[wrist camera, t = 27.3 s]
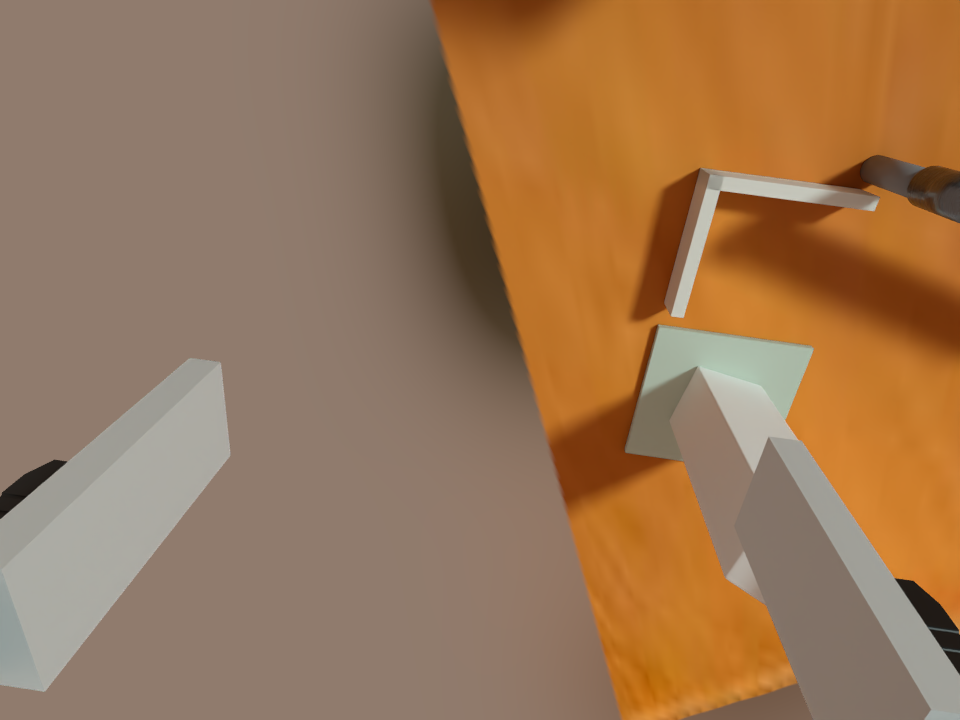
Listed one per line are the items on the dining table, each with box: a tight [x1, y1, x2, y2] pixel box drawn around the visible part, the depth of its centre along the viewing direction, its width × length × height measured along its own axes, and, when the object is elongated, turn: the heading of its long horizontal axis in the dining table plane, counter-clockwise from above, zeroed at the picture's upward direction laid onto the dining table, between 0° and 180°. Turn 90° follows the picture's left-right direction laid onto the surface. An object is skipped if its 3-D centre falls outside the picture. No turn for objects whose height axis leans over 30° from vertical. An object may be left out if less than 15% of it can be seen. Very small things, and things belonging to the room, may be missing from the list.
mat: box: [625, 324, 814, 461], centre depth 54 cm, size 13×13×1 cm
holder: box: [664, 155, 924, 318], centre depth 44 cm, size 14×14×7 cm
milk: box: [669, 366, 798, 605], centre depth 44 cm, size 6×6×22 cm
